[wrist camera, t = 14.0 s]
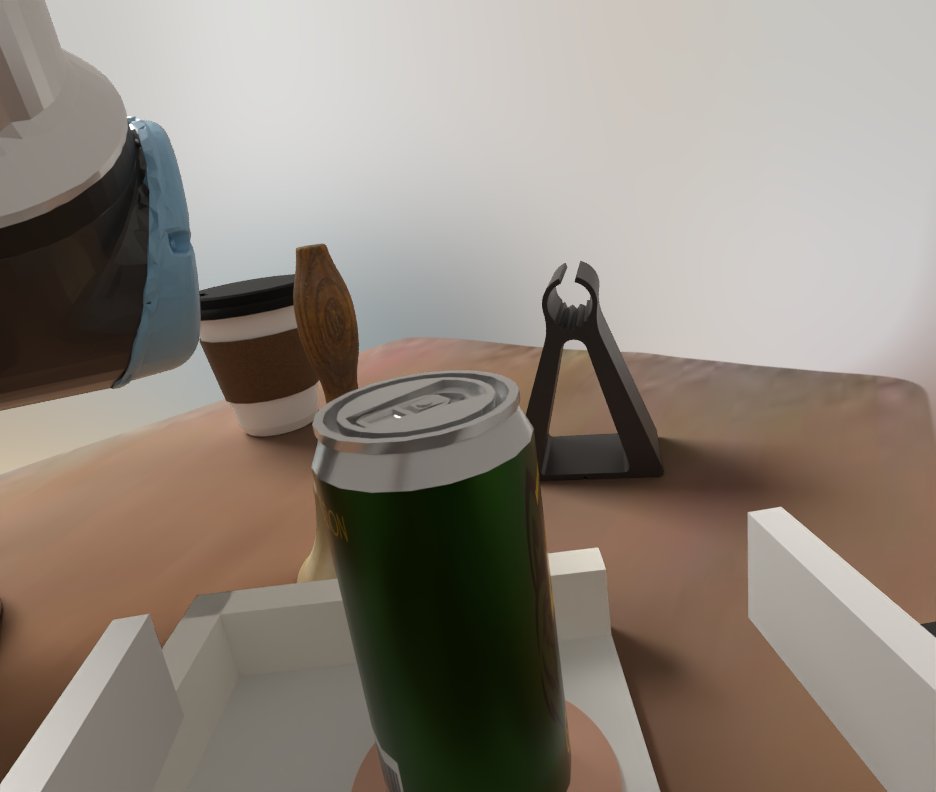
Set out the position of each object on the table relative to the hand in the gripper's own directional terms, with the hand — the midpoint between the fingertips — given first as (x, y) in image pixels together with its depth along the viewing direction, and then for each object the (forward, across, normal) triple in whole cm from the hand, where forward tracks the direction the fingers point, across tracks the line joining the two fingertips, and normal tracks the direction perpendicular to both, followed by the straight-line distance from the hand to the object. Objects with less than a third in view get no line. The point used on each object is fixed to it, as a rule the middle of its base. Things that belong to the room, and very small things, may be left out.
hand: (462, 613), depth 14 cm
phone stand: (+26, +9, -9) cm, 28 cm away
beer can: (+3, 0, -8) cm, 8 cm away
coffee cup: (+43, -14, -9) cm, 46 cm away
